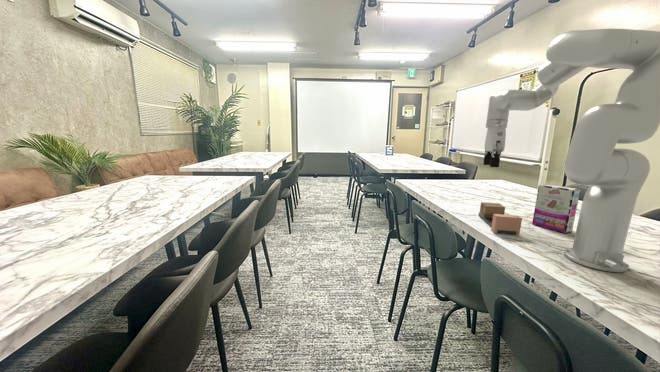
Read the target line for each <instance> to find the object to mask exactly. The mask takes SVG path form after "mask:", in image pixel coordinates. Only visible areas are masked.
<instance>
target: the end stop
mask: <svg viewBox="0 0 660 372" xmlns="http://www.w3.org/2000/svg"><path fill="white" fill-rule="evenodd" d="M522 221H523V218H522V217H521V216H520V215H516V214H515V215H514V214H513V215H512V214H504V215H503V214H493V220H492V227H490V231H491V232H492V233H493V234H495V235H496V234H497V232H498V231H497V230H499V233H500V230H506V231H502V232H503V233H502V232H501V233H500V234H499V233H498V235H506V232H507V231H508V232H509V231H510V232H511V233H512V231H513V233H514V231H517V232H516V233H514V235H513V236H515V237H516V236H518V237H519V236H520V235H521V234H520V233H521V228H522ZM504 232H505V233H504ZM511 233H508V236H512V235H511ZM513 233H512V234H513ZM509 234H510V235H509ZM515 234H516V235H515Z"/></svg>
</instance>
